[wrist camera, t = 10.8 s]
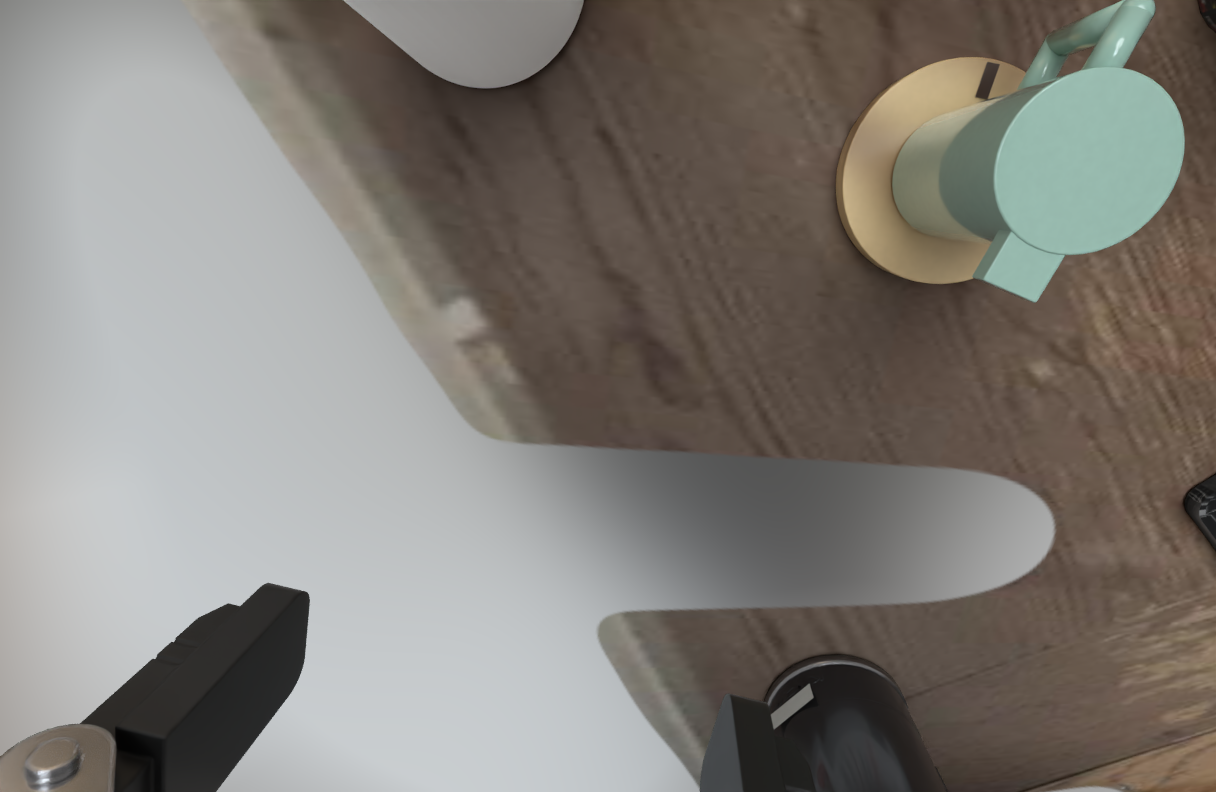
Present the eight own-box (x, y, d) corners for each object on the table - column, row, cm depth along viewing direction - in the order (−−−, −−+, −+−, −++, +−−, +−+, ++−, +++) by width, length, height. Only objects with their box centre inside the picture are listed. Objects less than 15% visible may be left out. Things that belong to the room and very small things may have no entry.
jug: (959, 287, 35) (1086, 324, 24) (853, 241, 35) (934, 259, 24) (1083, 72, 32) (1291, 9, 21) (966, 20, 31) (1118, -70, 21)
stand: (873, 41, 33) (883, 34, 32) (1087, 88, 33) (1108, 82, 32) (809, 256, 37) (815, 259, 35) (1003, 300, 36) (1018, 304, 35)
